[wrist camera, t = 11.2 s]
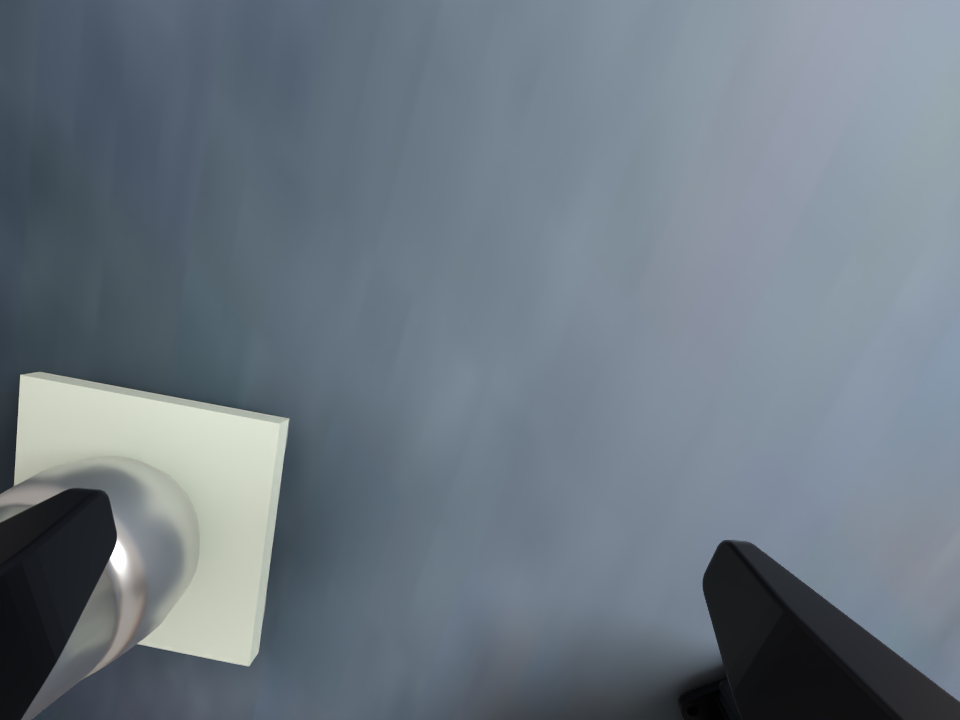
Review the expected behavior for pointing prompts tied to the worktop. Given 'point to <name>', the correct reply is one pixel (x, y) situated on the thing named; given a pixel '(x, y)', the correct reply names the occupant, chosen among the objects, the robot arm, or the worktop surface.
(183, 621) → the plate
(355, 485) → the worktop surface
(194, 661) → the worktop surface
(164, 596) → the plastic bottle
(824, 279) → the worktop surface
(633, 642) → the worktop surface
